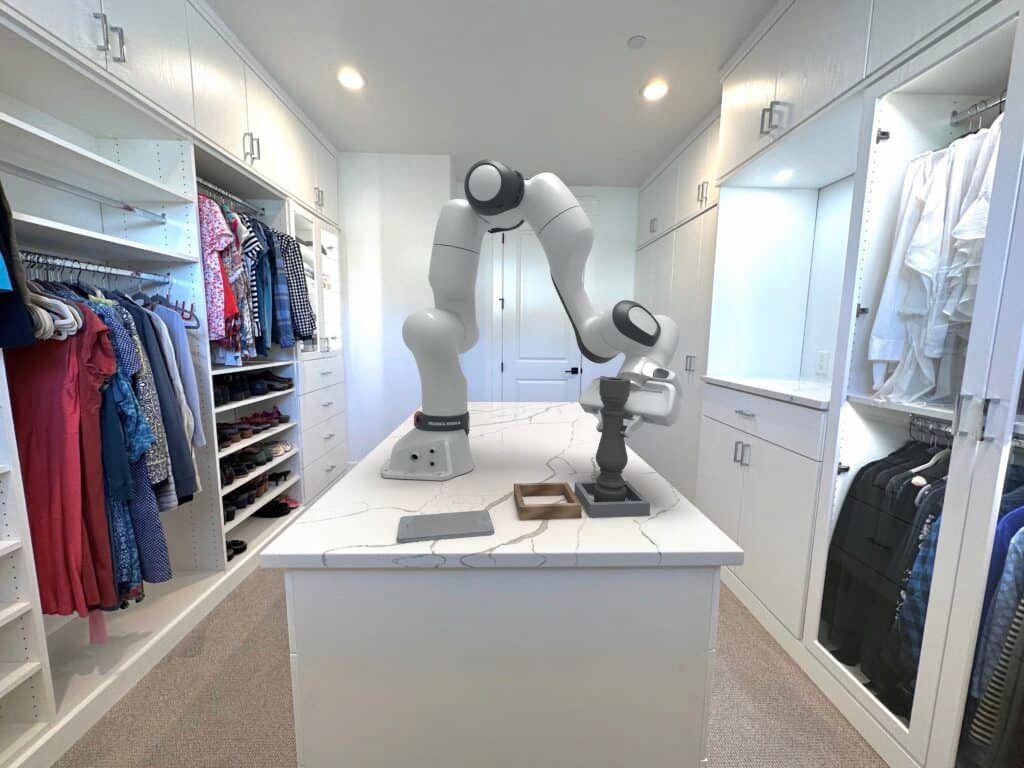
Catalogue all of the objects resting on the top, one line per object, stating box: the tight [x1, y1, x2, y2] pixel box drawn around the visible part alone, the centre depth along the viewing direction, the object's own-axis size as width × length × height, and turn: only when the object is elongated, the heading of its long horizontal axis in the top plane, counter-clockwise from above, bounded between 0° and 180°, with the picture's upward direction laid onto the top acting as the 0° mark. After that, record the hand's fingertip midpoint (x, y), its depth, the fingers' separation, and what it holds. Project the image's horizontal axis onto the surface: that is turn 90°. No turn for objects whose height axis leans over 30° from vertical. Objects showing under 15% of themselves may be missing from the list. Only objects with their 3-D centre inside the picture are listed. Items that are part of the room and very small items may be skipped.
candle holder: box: [593, 378, 630, 502], centre depth 77 cm, size 6×6×25 cm
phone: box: [396, 509, 495, 544], centre depth 69 cm, size 8×16×1 cm, turn 101°
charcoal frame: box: [573, 480, 651, 519], centre depth 79 cm, size 11×11×2 cm
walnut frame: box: [513, 481, 583, 521], centre depth 78 cm, size 11×11×2 cm
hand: (612, 433), depth 77 cm, fingers closed on candle holder, 4 cm apart
